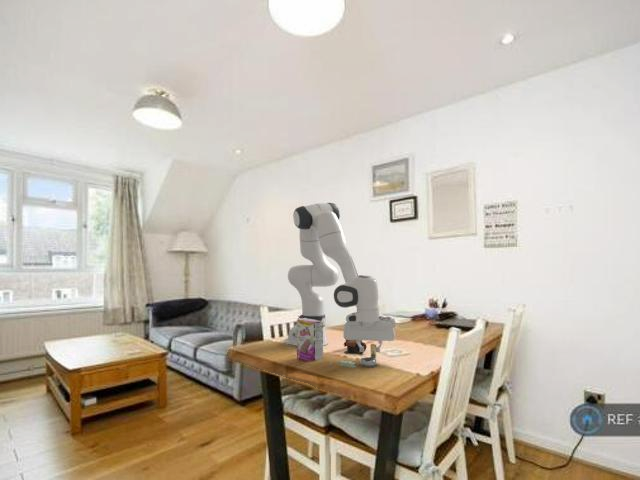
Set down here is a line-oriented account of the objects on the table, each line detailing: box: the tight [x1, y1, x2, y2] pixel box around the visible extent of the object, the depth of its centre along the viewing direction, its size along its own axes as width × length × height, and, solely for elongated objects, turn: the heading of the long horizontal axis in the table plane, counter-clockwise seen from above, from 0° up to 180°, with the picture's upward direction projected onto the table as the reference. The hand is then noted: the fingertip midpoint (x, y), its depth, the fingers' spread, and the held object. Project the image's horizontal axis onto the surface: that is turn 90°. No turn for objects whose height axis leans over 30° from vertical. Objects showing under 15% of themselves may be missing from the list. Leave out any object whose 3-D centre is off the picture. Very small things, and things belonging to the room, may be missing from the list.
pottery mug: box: [343, 340, 367, 355], centre depth 141 cm, size 12×10×8 cm
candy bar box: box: [296, 318, 324, 363], centre depth 134 cm, size 11×5×16 cm, turn 44°
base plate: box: [339, 360, 358, 369], centre depth 122 cm, size 22×19×4 cm
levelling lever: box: [359, 343, 378, 368], centre depth 124 cm, size 10×6×6 cm, turn 152°
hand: (369, 351), depth 128 cm, fingers open, 5 cm apart
